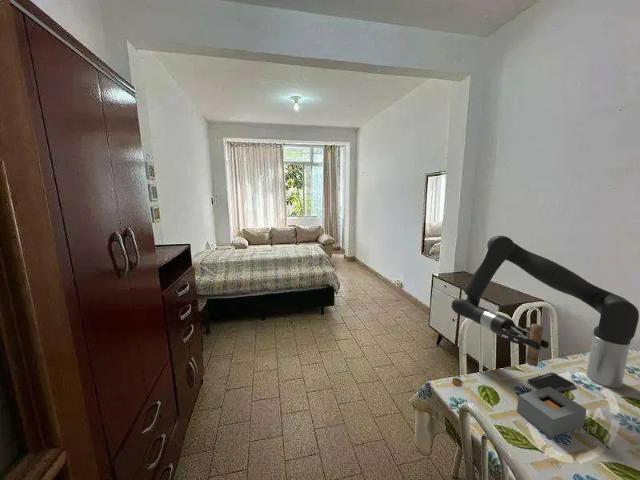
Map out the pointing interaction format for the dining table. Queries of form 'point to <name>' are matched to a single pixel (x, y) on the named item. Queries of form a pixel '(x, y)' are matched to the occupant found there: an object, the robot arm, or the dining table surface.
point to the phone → (551, 382)
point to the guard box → (551, 411)
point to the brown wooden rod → (535, 336)
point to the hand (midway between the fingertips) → (543, 346)
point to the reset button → (551, 404)
